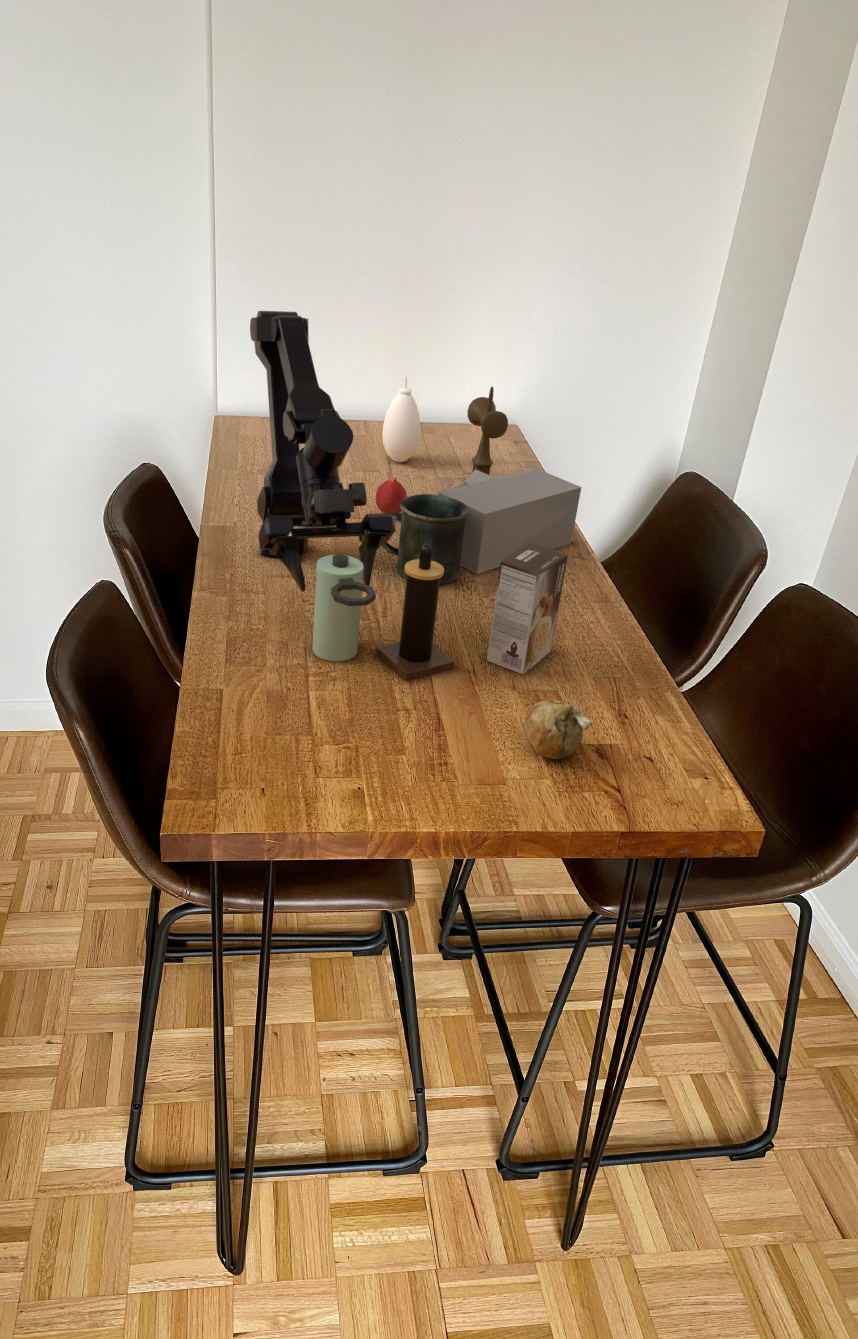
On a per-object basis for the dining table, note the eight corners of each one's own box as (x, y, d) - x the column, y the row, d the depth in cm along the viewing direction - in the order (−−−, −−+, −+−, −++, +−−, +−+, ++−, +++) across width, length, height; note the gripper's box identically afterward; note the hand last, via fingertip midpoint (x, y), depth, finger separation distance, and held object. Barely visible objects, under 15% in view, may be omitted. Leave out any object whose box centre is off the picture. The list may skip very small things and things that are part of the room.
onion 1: (369, 518, 193) (372, 477, 189) (381, 508, 198) (385, 468, 194) (397, 525, 192) (401, 484, 188) (410, 515, 197) (414, 474, 192)
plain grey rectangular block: (480, 501, 207) (487, 447, 201) (571, 543, 193) (581, 487, 187) (385, 526, 191) (390, 469, 185) (476, 574, 177) (485, 513, 172)
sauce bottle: (416, 469, 219) (425, 383, 210) (379, 465, 218) (386, 379, 209) (417, 456, 225) (425, 372, 216) (381, 453, 225) (387, 369, 216)
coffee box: (514, 638, 159) (529, 540, 151) (551, 652, 156) (570, 553, 148) (484, 661, 152) (499, 560, 144) (523, 676, 149) (541, 574, 141)
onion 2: (574, 734, 137) (585, 682, 133) (584, 770, 130) (596, 716, 126) (517, 731, 137) (526, 678, 133) (524, 767, 130) (534, 713, 126)
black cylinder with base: (375, 654, 150) (385, 538, 141) (422, 643, 154) (434, 529, 145) (405, 681, 145) (418, 561, 136) (453, 668, 149) (468, 552, 140)
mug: (460, 591, 171) (469, 522, 165) (371, 582, 170) (377, 513, 164) (461, 563, 180) (469, 497, 174) (376, 554, 180) (381, 488, 174)
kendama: (486, 474, 220) (498, 379, 210) (500, 491, 212) (514, 393, 202) (458, 474, 218) (470, 379, 208) (472, 492, 210) (485, 393, 200)
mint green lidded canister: (307, 641, 152) (312, 549, 144) (350, 637, 154) (356, 547, 146) (329, 687, 141) (336, 591, 134) (375, 683, 143) (383, 588, 136)
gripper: (264, 461, 140) (279, 572, 136) (397, 459, 146) (415, 565, 142) (252, 495, 150) (266, 599, 146) (377, 492, 156) (393, 591, 153)
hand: (335, 588), depth 147 cm, fingers open, 9 cm apart
